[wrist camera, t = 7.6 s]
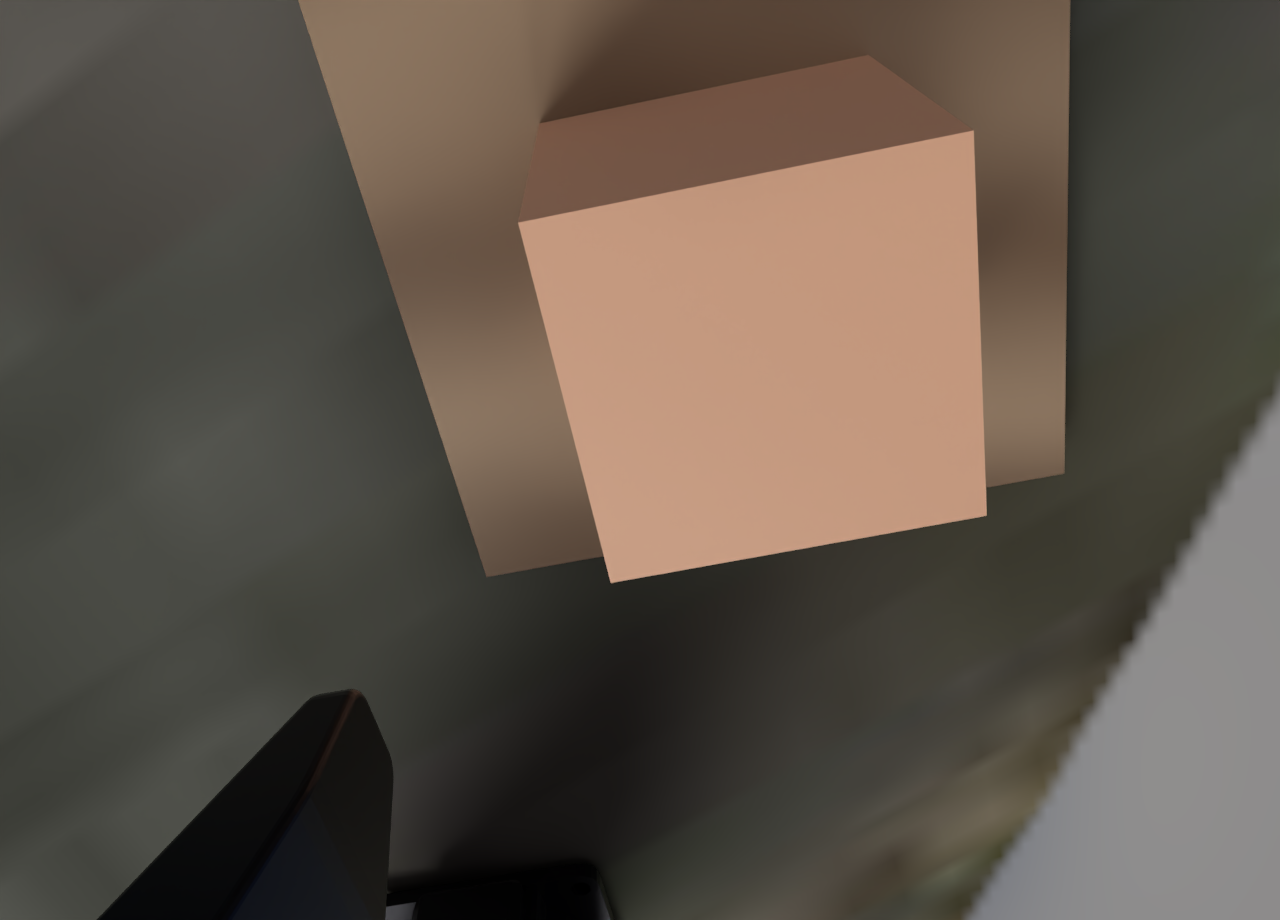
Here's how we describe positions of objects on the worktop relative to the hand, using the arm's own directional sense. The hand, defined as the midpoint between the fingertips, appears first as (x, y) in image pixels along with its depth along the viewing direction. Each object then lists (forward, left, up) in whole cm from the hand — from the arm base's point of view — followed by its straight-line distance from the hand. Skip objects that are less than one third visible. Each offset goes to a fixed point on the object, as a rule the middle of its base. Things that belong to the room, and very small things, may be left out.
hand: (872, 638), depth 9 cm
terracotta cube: (0, 0, -11) cm, 11 cm away
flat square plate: (0, 0, -12) cm, 12 cm away
